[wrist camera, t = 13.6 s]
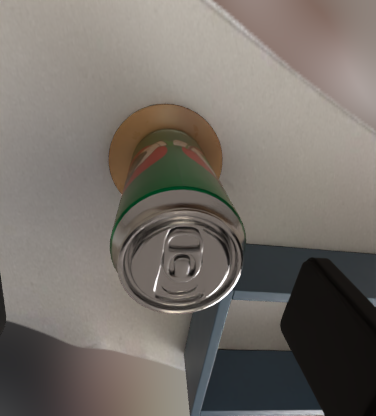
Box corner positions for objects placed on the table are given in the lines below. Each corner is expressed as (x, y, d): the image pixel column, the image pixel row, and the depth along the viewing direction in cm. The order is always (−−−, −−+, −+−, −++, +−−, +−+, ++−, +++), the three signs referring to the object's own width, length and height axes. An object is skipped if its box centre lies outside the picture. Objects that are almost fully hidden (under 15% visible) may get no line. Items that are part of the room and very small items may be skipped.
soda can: (132, 195, 21) (108, 324, 11) (131, 124, 19) (100, 197, 9) (200, 197, 22) (243, 321, 11) (206, 128, 20) (267, 201, 9)
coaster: (107, 207, 22) (106, 209, 22) (112, 95, 19) (111, 95, 18) (210, 216, 23) (211, 219, 23) (231, 113, 20) (233, 113, 20)
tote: (183, 354, 30) (190, 417, 24) (207, 240, 24) (222, 289, 19) (339, 357, 33) (376, 414, 27) (393, 255, 27) (453, 302, 22)
